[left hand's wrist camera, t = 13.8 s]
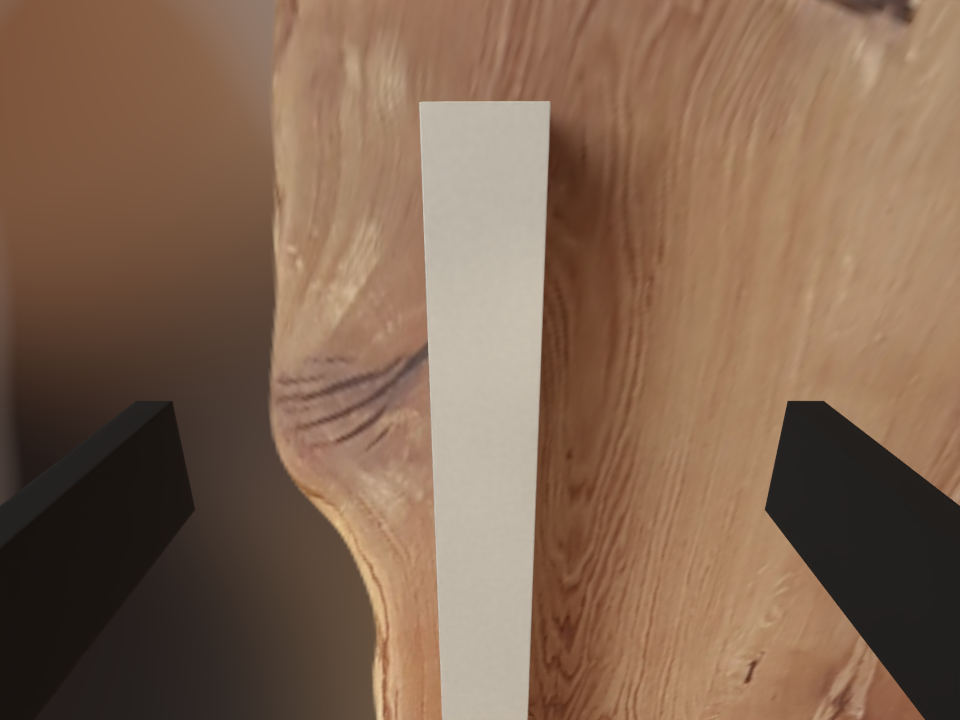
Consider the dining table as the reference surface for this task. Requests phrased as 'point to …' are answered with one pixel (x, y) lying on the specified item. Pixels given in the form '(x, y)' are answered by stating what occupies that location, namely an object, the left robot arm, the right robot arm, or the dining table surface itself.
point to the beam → (485, 388)
